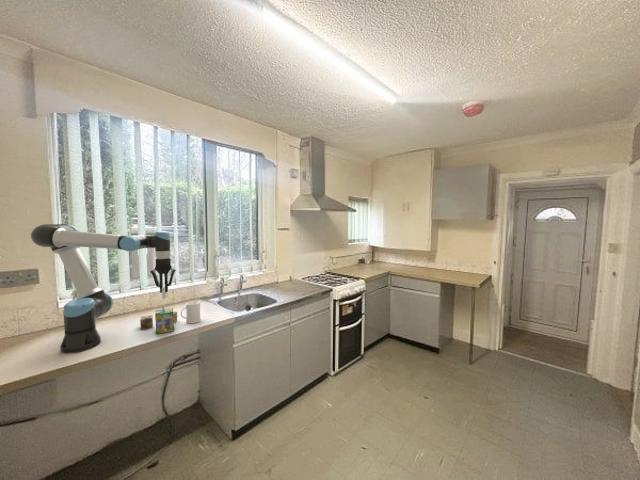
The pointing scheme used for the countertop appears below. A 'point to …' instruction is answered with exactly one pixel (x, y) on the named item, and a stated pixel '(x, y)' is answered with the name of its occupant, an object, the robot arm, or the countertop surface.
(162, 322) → the chalk box
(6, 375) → the countertop surface
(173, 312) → the walnut block
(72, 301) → the robot arm
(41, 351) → the countertop surface
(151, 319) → the walnut block
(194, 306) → the mug
